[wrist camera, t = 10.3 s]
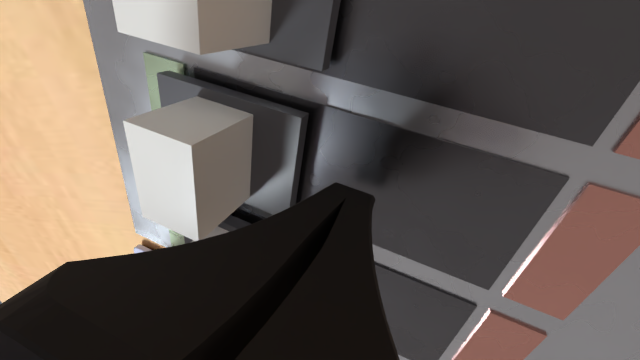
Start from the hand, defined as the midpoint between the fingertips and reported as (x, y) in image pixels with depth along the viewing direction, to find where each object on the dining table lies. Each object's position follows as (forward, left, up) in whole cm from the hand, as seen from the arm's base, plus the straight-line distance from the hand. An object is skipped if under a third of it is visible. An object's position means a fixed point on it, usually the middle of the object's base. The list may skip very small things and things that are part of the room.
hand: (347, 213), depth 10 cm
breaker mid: (0, +5, -2) cm, 6 cm away
